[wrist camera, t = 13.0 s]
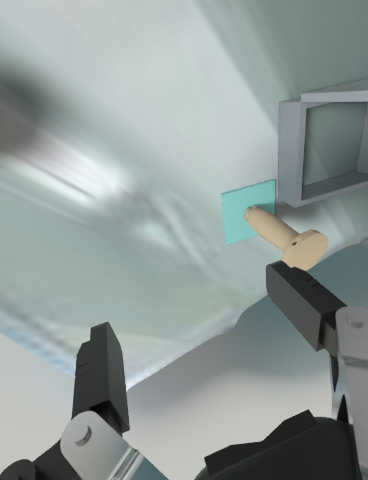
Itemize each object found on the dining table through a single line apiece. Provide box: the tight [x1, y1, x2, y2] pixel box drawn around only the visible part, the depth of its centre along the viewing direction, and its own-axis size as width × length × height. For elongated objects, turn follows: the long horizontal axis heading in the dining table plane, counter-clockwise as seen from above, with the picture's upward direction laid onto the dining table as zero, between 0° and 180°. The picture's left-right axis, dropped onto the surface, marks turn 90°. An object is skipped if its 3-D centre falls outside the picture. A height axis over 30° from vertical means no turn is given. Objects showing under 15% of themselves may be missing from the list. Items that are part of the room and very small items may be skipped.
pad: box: [221, 179, 275, 245], centre depth 47 cm, size 10×10×1 cm
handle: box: [243, 205, 328, 271], centre depth 40 cm, size 5×6×15 cm
